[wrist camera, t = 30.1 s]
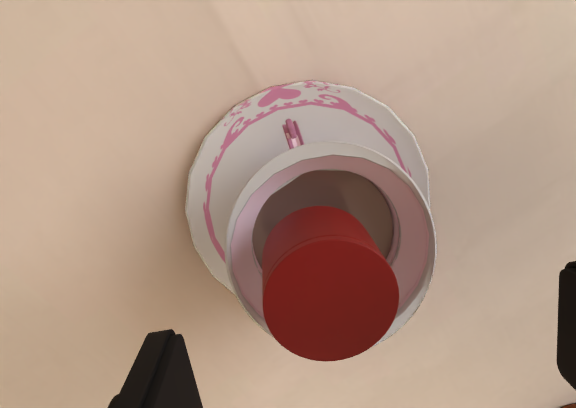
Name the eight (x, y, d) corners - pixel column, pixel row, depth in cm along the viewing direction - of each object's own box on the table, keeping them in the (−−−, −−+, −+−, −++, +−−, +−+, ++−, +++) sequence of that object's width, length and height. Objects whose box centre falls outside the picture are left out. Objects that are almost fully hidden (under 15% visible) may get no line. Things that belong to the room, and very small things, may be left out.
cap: (373, 199, 15) (402, 232, 12) (374, 301, 16) (401, 354, 13) (257, 210, 15) (255, 246, 12) (267, 311, 16) (268, 367, 13)
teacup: (447, 271, 23) (512, 340, 17) (236, 337, 23) (228, 428, 17) (396, 44, 19) (456, 32, 13) (147, 128, 20) (98, 152, 14)
